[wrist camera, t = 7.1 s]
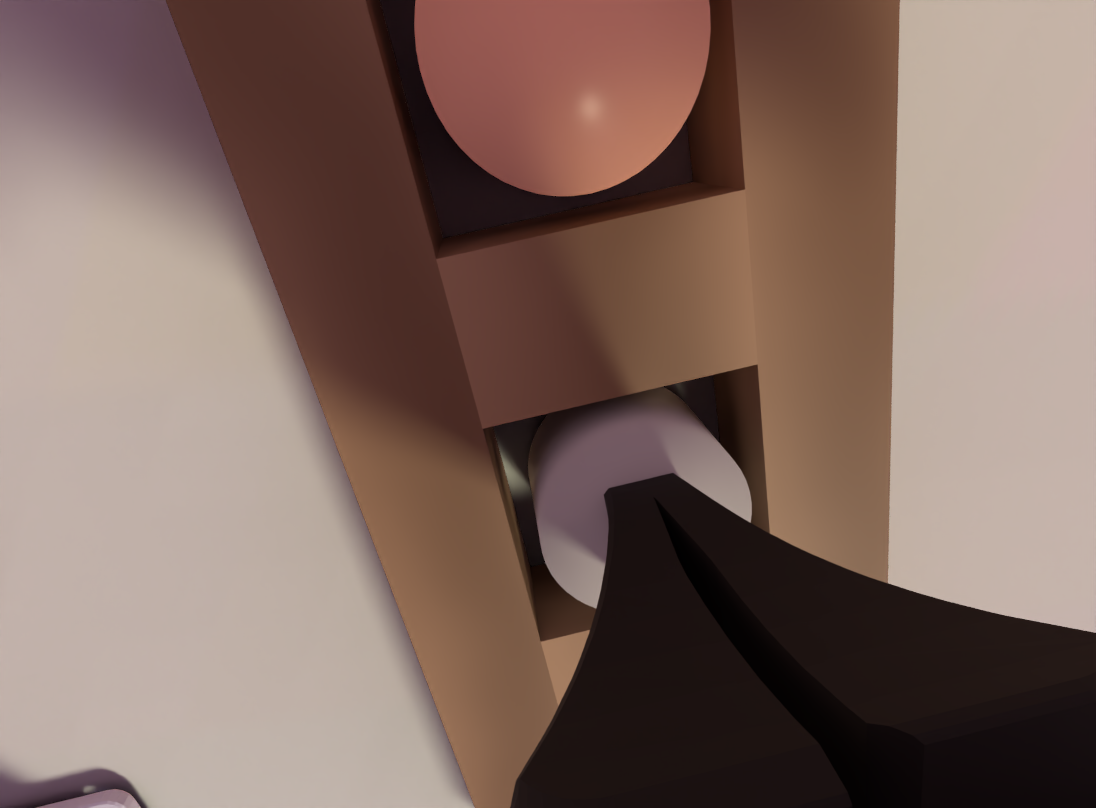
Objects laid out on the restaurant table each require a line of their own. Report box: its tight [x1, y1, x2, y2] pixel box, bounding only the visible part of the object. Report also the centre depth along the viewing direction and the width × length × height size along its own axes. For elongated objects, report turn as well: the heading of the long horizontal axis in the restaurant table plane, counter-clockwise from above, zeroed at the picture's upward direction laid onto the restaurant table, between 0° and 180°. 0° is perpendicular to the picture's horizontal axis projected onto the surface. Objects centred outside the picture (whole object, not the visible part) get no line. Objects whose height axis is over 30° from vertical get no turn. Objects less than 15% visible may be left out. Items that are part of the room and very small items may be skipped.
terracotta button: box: [414, 0, 711, 196], centre depth 10 cm, size 4×4×3 cm
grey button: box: [528, 387, 752, 608], centre depth 13 cm, size 4×4×3 cm
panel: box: [166, 0, 900, 808], centre depth 13 cm, size 10×24×2 cm, turn 12°
